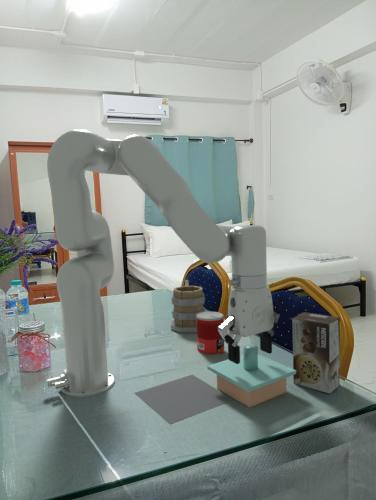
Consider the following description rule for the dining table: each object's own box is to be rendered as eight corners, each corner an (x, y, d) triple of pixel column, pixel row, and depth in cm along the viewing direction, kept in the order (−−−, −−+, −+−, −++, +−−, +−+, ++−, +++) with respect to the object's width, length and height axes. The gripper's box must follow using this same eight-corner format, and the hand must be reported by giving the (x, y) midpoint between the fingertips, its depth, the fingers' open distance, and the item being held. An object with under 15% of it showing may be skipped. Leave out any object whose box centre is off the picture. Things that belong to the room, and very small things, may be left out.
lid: (248, 392, 78) (248, 364, 77) (207, 369, 90) (206, 344, 89) (296, 373, 86) (296, 348, 85) (252, 354, 97) (252, 332, 97)
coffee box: (340, 384, 91) (341, 317, 89) (329, 394, 86) (330, 324, 84) (304, 374, 97) (304, 311, 95) (291, 383, 92) (291, 317, 90)
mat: (170, 427, 75) (170, 424, 75) (134, 395, 89) (134, 392, 89) (233, 402, 84) (233, 399, 84) (192, 376, 97) (192, 374, 97)
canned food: (222, 356, 110) (221, 319, 108) (195, 355, 111) (193, 318, 110) (225, 347, 117) (224, 311, 116) (199, 346, 119) (198, 311, 118)
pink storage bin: (249, 410, 81) (249, 387, 80) (217, 390, 90) (216, 369, 89) (286, 394, 87) (286, 373, 86) (252, 377, 96) (252, 358, 95)
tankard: (207, 332, 131) (206, 289, 130) (170, 333, 132) (168, 290, 130) (206, 316, 151) (205, 278, 149) (173, 317, 151) (172, 279, 150)
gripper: (229, 290, 78) (231, 372, 79) (289, 278, 87) (290, 352, 89) (207, 284, 84) (209, 361, 86) (265, 274, 93) (266, 343, 95)
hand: (250, 356), depth 87 cm, fingers open, 9 cm apart
